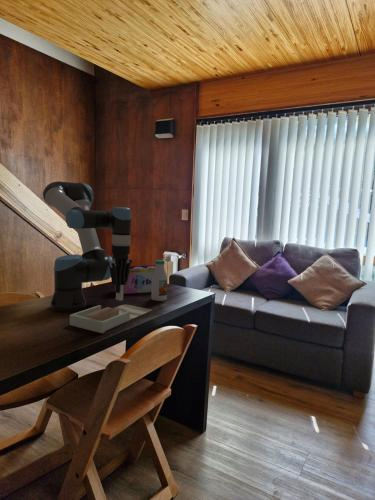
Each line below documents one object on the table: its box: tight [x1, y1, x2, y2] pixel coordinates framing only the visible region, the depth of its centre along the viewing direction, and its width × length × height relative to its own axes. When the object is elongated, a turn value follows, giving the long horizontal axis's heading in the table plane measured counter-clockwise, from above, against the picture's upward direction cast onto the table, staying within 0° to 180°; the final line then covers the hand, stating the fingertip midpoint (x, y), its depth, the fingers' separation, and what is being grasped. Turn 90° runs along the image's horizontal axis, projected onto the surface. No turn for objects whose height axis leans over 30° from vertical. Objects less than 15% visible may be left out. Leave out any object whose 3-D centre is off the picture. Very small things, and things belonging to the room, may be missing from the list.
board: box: [113, 304, 153, 321], centre depth 151 cm, size 17×16×1 cm
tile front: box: [87, 311, 109, 321], centre depth 135 cm, size 6×6×4 cm
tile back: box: [98, 306, 119, 318], centre depth 140 cm, size 6×6×4 cm
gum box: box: [114, 264, 156, 295], centre depth 189 cm, size 24×8×14 cm, turn 113°
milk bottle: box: [150, 259, 168, 302], centre depth 173 cm, size 8×8×20 cm
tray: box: [69, 304, 131, 334], centre depth 136 cm, size 16×16×4 cm
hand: (119, 299), depth 147 cm, fingers closed
